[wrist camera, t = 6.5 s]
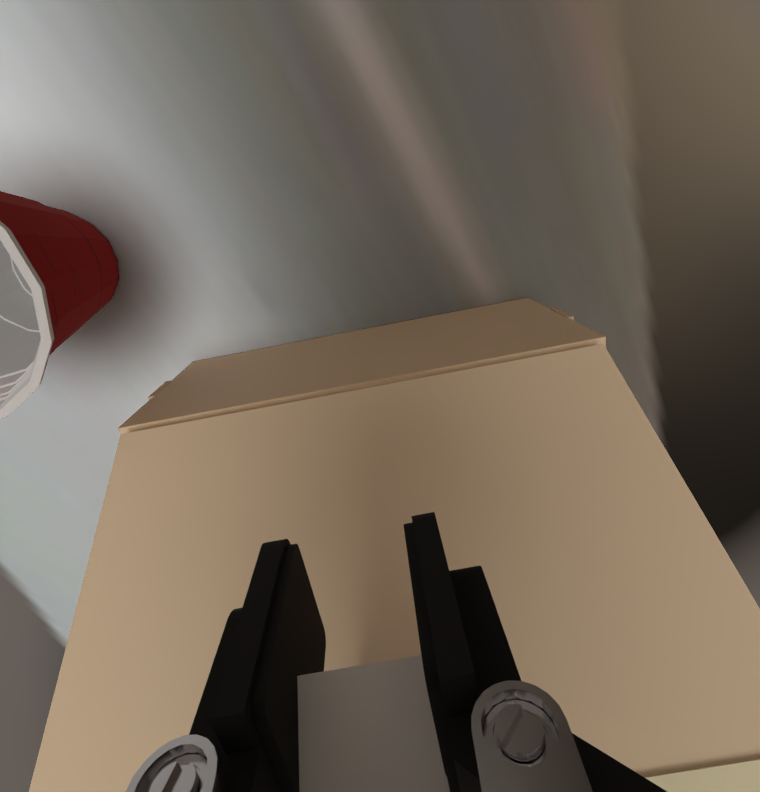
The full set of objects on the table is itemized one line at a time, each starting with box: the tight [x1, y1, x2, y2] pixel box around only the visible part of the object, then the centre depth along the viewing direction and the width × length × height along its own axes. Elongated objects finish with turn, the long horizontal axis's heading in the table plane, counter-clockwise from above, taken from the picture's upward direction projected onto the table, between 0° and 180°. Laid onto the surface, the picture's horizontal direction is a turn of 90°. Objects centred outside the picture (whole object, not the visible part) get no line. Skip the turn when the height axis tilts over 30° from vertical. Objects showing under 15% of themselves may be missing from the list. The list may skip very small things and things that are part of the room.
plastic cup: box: [0, 191, 119, 418], centre depth 22 cm, size 11×11×12 cm
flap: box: [29, 344, 760, 792], centre depth 13 cm, size 15×21×7 cm
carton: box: [118, 298, 606, 434], centre depth 28 cm, size 16×22×10 cm
